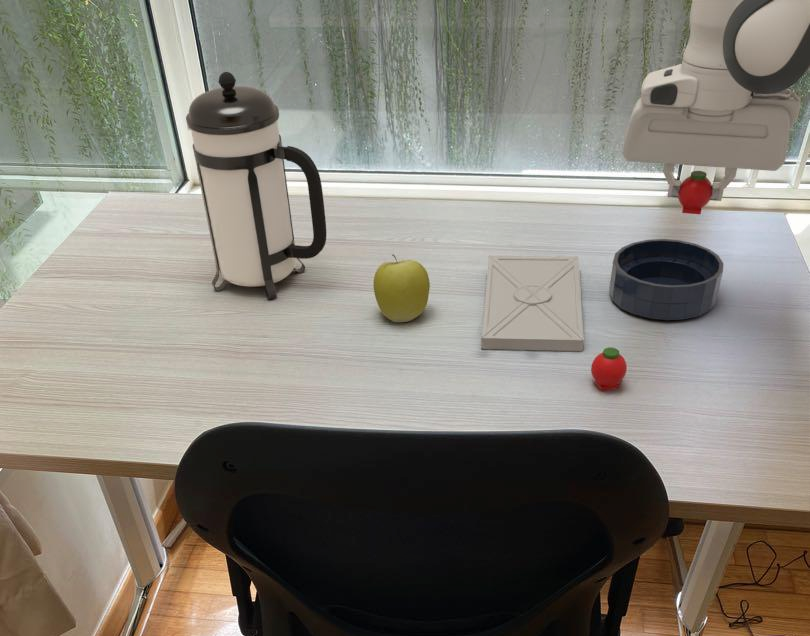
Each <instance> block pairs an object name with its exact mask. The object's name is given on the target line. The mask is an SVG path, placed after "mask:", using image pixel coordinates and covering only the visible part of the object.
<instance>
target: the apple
mask: <svg viewBox="0 0 810 636" xmlns="http://www.w3.org/2000/svg"><path fill="white" fill-rule="evenodd" d="M392 256H393V257H394V259H395V260H396V261H385V262H383V263H382V264H380V265H379V266H378V268H376V271H375V273H374V277H373V293H374V297H375V300H376V304H377V306H378V308H379V311H380V312H381V314H382V315H384V317H386V318H387V319H388V320H390V321H392V322H393V323H406V322H407V323H408V322H410V321H413V320H414V319H416V318H417V317H418V316H420V315H421V314H422V313H423V312H424V311H425V309H426V307H427V305H428V302H429V295H430V287H431V286H430V284H431V283H430V278H429V273H428V272H427V270H426V268H425V267H424V266H423V265H422V263H420V262H419V261H417V260H414V259H407V260H400V261H397V258H396V255H394V254H392Z"/></svg>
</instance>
